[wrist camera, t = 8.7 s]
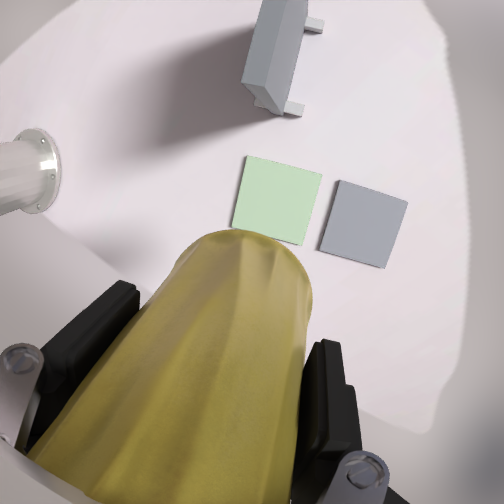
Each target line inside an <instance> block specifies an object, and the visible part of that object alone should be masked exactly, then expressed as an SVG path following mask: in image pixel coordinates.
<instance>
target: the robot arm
mask: <svg viewBox="0 0 504 504" xmlns="http://www.w3.org/2000/svg"><path fill="white" fill-rule="evenodd" d="M60 178H61V165H60V158H59V154H58V150H57V148H56V145H55V143H54V141H53V140H52V138H51V137H50V136H49V135H48V134H47V133H46V132H44V131H43V130H41V129H37V128H35V129H27V130H24V131H22V132H20V133H19V134H18V135H17V136H16V137H15V139H14V140H13V142H5V143H0V216H1V215H3V214H6V213H9V212H11V211H14V210H17V209H19V208H20V209H21V210H22V211H24V212H26V213H30V214H36V213H39V212H42V211H44V210H46V209H47V208H48V207H49V206H50V205H51V204H52V203H53V201H54V199H55V197H56V195H57V192H58V189H59V185H60ZM139 307H140V291H138V290H136V286H135V285H134V284H131V283H128V282H125V281H122V280H119V281H117V282H116V283H115V284H114V285H112V286H111V287H110V288H109V289H108V290H106V291H105V292H104V293H103V294H102V295H101V296H100V297H99V298H97V299H96V300H95V301H94V302H93V303H91V305H89V306H88V307H87V308H86V309H85V310H83V311H82V312H81V313H79V314H78V315H77V316H76V317H75V318H74V319H73V320H72V321H71V322H70V323H68V324H67V325H66V326H65V327H64V328H63V329H62V330H61V331H59V332H58V333H57V334H56V335H55V336H54V337H53V338H52V339H51V340H50V341H49V342H48V343H46V344H45V345H44V346H43V347H42V348H41V349H40V350H39V349H38V348H37V347H35V346H34V345H31V344H27V343H19V344H14V345H11V346H9V347H7V348H6V349H5V350H4V351H3V352H2V353H1V355H0V504H102V503H100V502H97V501H95V500H93V499H91V498H89V497H87V496H86V495H85V494H84V493H83V491H81V490H79V489H77V488H76V487H74V486H72V485H70V484H68V483H67V482H65V481H63V480H61V479H60V478H58V477H56V476H55V475H53V474H51V473H50V472H48V471H47V470H45V469H43V468H42V467H40V466H39V465H37V464H36V463H34V462H33V461H31V460H30V459H28V458H27V457H26V455H27V454H28V453H29V451H30V450H31V449H32V447H33V446H34V445H35V444H36V443H37V441H38V440H39V439H40V438H41V437H42V435H43V434H44V433H45V432H46V430H47V429H48V428H49V427H50V425H51V424H52V423H53V422H54V420H55V419H56V418H57V417H58V415H59V414H60V412H61V411H62V410H63V408H64V406H65V405H66V403H67V402H68V401H69V399H70V398H71V396H72V395H73V393H74V392H75V391H76V389H77V388H78V386H79V385H80V384H81V382H82V381H83V380H84V378H85V377H86V376H87V374H88V373H89V372H90V370H91V369H92V368H93V366H94V365H95V364H96V363H97V361H98V360H99V359H100V357H101V356H102V355H103V354H104V352H105V351H106V350H107V349H108V347H109V346H110V345H111V344H112V342H113V341H114V340H115V338H116V337H117V336H118V335H119V333H120V332H121V331H122V330H123V328H124V327H125V326H126V325H127V323H128V322H129V321H130V320H131V319H132V318H133V317H134V315H135V314H136V313H137V312H138V311H139ZM389 477H390V473H389V469H388V467H387V465H386V464H385V462H384V461H383V460H382V459H381V458H380V457H379V456H377V455H375V454H373V453H371V452H367V451H363V450H362V441H361V432H360V424H359V416H358V408H357V401H356V394H355V389H354V387H353V386H352V385H347V384H346V382H345V374H344V367H343V359H342V352H341V345H340V343H339V342H336V341H331V340H327V339H322V340H321V342H315V343H314V345H313V347H312V350H311V352H310V354H309V357H308V359H307V361H306V364H305V366H304V368H303V372H302V383H301V395H300V408H299V421H298V432H297V443H296V452H295V459H294V468H293V478H292V489H291V500H292V501H291V504H410V503H408V502H407V501H406V500H404V499H403V498H402V497H401V496H400V495H398V494H397V493H396V492H395V491H393V490H392V489H391V488H390V487H388V484H389V479H390V478H389Z"/></svg>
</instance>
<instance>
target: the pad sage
mask: <svg viewBox="0 0 504 504" xmlns="http://www.w3.org/2000/svg"><path fill="white" fill-rule="evenodd" d="M321 178H322V174H318V173H315V172H311V171H307V170H304V169H300V168H296V167H293V166H289V165H285V164H281V163H277V162H273V161H269V160H265V159H261V158H257V157H252V156H247V160H246V164H245V168H244V173H243V177H242V182H241V186H240V190H239V195H238V199H237V204H236V208H235V213H234V218H233V222H232V227H234V228H238V229H241V230H248V231H253V232H257V233H260V234H263V235H265V236H268V237H272V238H275V239H279V240H283V241H287V242H290V243H294V244H298V245H301V246H302V244H303V241H304V238H305V234H306V231H307V227H308V224H309V220H310V217H311V214H312V210H313V206H314V203H315V199H316V196H317V192H318V189H319V185H320V181H321Z"/></svg>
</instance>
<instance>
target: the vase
mask: <svg viewBox="0 0 504 504" xmlns="http://www.w3.org/2000/svg"><path fill="white" fill-rule="evenodd" d="M311 310H312V288H311V284H310V280H309V278H308V275H307V273H306V271H305V269H304V267H303V266H302V264H301V263H300V262H299V260H298V259H297V258H296V256H295V255H294V254H293V253H292V252H291V251H290V250H289V249H288V248H286V247H285V246H284V245H282V244H281V243H279V242H277V241H276V240H274V239H272V238H270V237H268V236H265V235H263V234H260V233H257V232H253V231H248V230H237V229H230V230H222V231H217V232H213V233H210V234H206V235H205V236H203V237H201V238H199V239H198V240H196V241H195V242H194V243H192V244H191V245H190V246H189V247H188V248H187V249H186V250H185V251H184V252H183V253H182V254H181V255H180V257H179V258H178V259H177V261H176V263H175V265H174V267H173V269H172V271H171V272H170V274H169V275H168V277H167V278H166V279H165V281H164V282H163V283H162V284H161V286H160V287H159V288H158V289H157V291H156V292H155V293H154V295H153V296H152V297H151V298H150V299H149V300H148V302H146V304H145V305H144V306H143V307H142V308H141V309H140V310H139V311H138V312H137V313H136V314H135V315H134V317H133V318H132V319H131V320H130V321H129V322H128V323H127V325H126V326H125V327H124V328H123V330H122V331H121V332H120V333H119V335H118V336H117V337H116V338H115V340H114V341H113V342H112V344H111V345H110V346H109V347H108V349H107V350H106V351H105V352H104V354H103V355H102V356H101V357H100V359H99V360H98V361H97V363H96V364H95V365H94V366H93V368H92V369H91V370H90V372H89V373H88V374H87V376H86V377H85V378H84V380H83V381H82V382H81V384H80V385H79V386H78V388H77V389H76V391H75V392H74V393H73V395H72V396H71V398H70V399H69V401H68V402H67V403H66V405H65V406H64V408H63V410H62V411H61V412H60V414H59V415H58V417H57V418H56V419H55V420H54V422H53V423H52V424H51V425H50V427H49V428H48V429H47V430H46V432H45V433H44V434H43V435H42V437H41V438H40V439H39V440H38V441H37V443H36V444H35V445H34V446H33V447H32V449H31V450H30V451H29V453H28V454H27V455H26V457H27V458H28V459H30V460H31V461H33V462H34V463H36V464H37V465H39V466H40V467H42V468H43V469H45V470H47V471H48V472H50V473H51V474H53V475H55V476H56V477H58V478H60V479H61V480H63V481H65V482H67V483H68V484H70V485H72V486H74V487H76V488H77V489H79V490H81V491H83V493H84V494H85V495H86V496H87V497H89V498H91V499H93V500H95V501H97V502H100V503H102V504H290V499H291V489H292V478H293V468H294V459H295V452H296V443H297V432H298V421H299V408H300V395H301V383H302V372H303V368H304V363H305V351H306V335H307V326H308V322H309V319H310V316H311Z"/></svg>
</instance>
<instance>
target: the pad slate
mask: <svg viewBox="0 0 504 504" xmlns="http://www.w3.org/2000/svg"><path fill="white" fill-rule="evenodd" d="M407 205H408V202H406V201H403V200H401V199H398V198H395V197H392V196H389V195H386V194H383V193H380V192H377V191H374V190H371V189H368V188H365V187H362V186H358V185H355V184H352V183H349V182H345V181H342V180H340V181H339V185H338V188H337V192H336V195H335V199H334V202H333V206H332V209H331V212H330V216H329V219H328V222H327V226H326V229H325V232H324V235H323V239H322V242H321V245H320V248H319V250H320V251H323V252H327V253H331V254H334V255H338V256H341V257H345V258H349V259H352V260H356V261H359V262H363V263H366V264H370V265H373V266H377V267H380V268H384V269H385V267H386V264H387V262H388V259H389V256H390V254H391V251H392V248H393V246H394V243H395V240H396V237H397V234H398V232H399V229H400V226H401V223H402V220H403V217H404V214H405V211H406V208H407Z"/></svg>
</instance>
